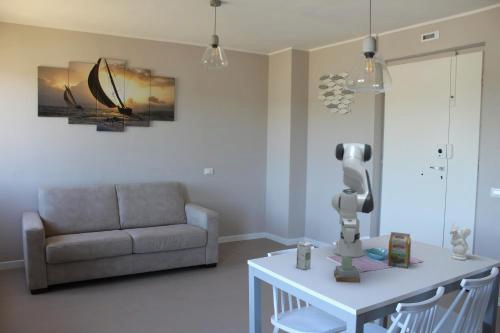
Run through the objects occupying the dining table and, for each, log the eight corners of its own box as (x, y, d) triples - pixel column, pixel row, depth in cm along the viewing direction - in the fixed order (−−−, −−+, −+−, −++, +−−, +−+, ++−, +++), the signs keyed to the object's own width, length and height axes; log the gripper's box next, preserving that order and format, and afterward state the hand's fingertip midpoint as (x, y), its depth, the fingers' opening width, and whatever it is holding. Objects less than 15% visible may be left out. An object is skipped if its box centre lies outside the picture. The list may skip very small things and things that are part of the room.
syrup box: (301, 265, 255) (302, 241, 254) (310, 267, 251) (311, 242, 250) (296, 268, 251) (296, 242, 250) (305, 270, 247) (305, 244, 246)
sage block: (341, 266, 237) (341, 255, 236) (350, 267, 236) (351, 256, 236) (342, 269, 232) (342, 258, 231) (352, 270, 231) (352, 258, 231)
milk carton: (388, 265, 257) (389, 233, 256) (391, 261, 266) (392, 230, 265) (407, 268, 252) (408, 235, 251) (410, 263, 262) (411, 232, 260)
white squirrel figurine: (471, 260, 271) (474, 224, 269) (456, 262, 266) (458, 226, 264) (455, 254, 282) (458, 220, 280) (440, 256, 278) (442, 222, 276)
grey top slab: (335, 271, 239) (335, 265, 238) (353, 271, 239) (354, 265, 239) (340, 277, 229) (340, 271, 228) (359, 277, 229) (359, 271, 229)
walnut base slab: (334, 275, 241) (334, 270, 240) (356, 276, 240) (356, 271, 239) (336, 283, 229) (336, 277, 228) (360, 284, 228) (360, 278, 227)
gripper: (339, 216, 242) (338, 241, 244) (344, 224, 222) (343, 251, 224) (351, 216, 242) (350, 241, 243) (357, 225, 222) (356, 252, 223)
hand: (347, 246), depth 233 cm, fingers open, 8 cm apart
